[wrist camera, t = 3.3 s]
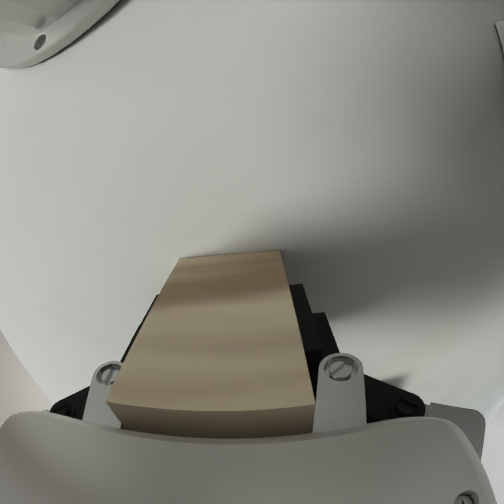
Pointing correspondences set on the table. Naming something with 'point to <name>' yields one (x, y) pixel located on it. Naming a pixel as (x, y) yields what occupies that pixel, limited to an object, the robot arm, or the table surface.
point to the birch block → (218, 355)
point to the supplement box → (500, 32)
